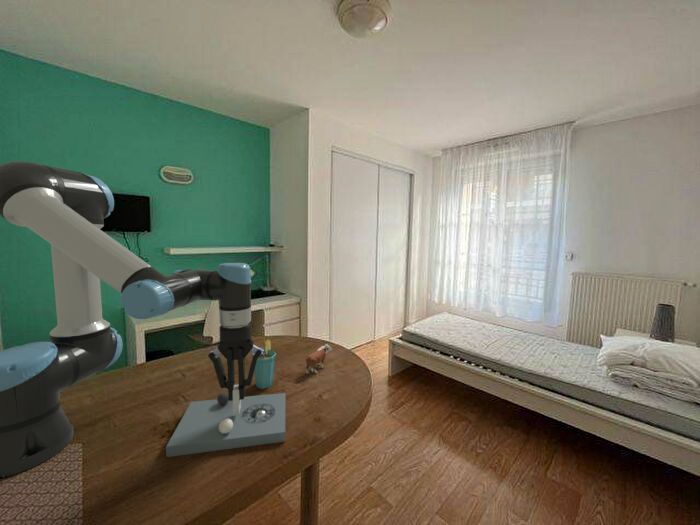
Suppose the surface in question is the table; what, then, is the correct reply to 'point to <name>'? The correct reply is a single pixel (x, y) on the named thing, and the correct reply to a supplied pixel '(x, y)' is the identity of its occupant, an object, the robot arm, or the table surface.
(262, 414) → the steel ball
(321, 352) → the bull figurine
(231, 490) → the table surface
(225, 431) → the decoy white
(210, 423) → the plate
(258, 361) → the cup
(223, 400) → the matte dark gray ball
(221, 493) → the table surface
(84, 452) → the table surface
